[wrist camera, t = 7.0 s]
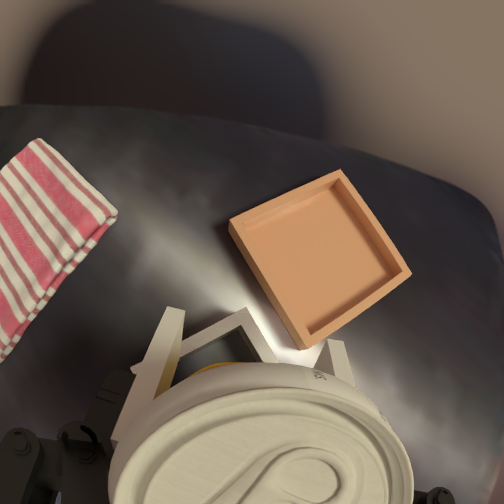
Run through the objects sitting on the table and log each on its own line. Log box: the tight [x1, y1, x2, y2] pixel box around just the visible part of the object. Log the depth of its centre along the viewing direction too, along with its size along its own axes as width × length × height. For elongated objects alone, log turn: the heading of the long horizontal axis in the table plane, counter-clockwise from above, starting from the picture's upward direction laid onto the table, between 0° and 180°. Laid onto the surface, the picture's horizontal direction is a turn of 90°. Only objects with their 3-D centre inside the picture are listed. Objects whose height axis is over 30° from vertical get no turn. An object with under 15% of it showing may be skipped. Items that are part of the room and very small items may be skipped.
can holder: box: [130, 307, 279, 374], centre depth 23 cm, size 10×10×4 cm
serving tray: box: [228, 169, 412, 350], centre depth 29 cm, size 13×13×2 cm
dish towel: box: [0, 138, 118, 363], centre depth 25 cm, size 17×23×4 cm
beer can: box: [108, 362, 414, 504], centre depth 11 cm, size 6×6×15 cm
